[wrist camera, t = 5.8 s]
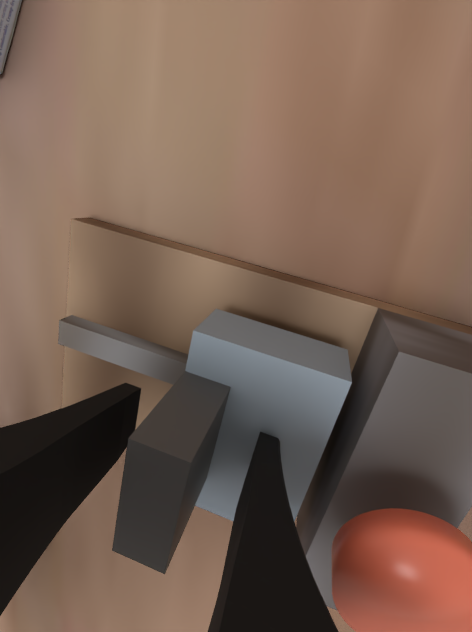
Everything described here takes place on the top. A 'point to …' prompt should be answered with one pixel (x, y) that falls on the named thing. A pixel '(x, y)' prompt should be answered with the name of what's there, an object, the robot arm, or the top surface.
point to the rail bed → (301, 318)
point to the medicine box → (7, 26)
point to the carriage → (227, 429)
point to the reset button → (402, 573)
